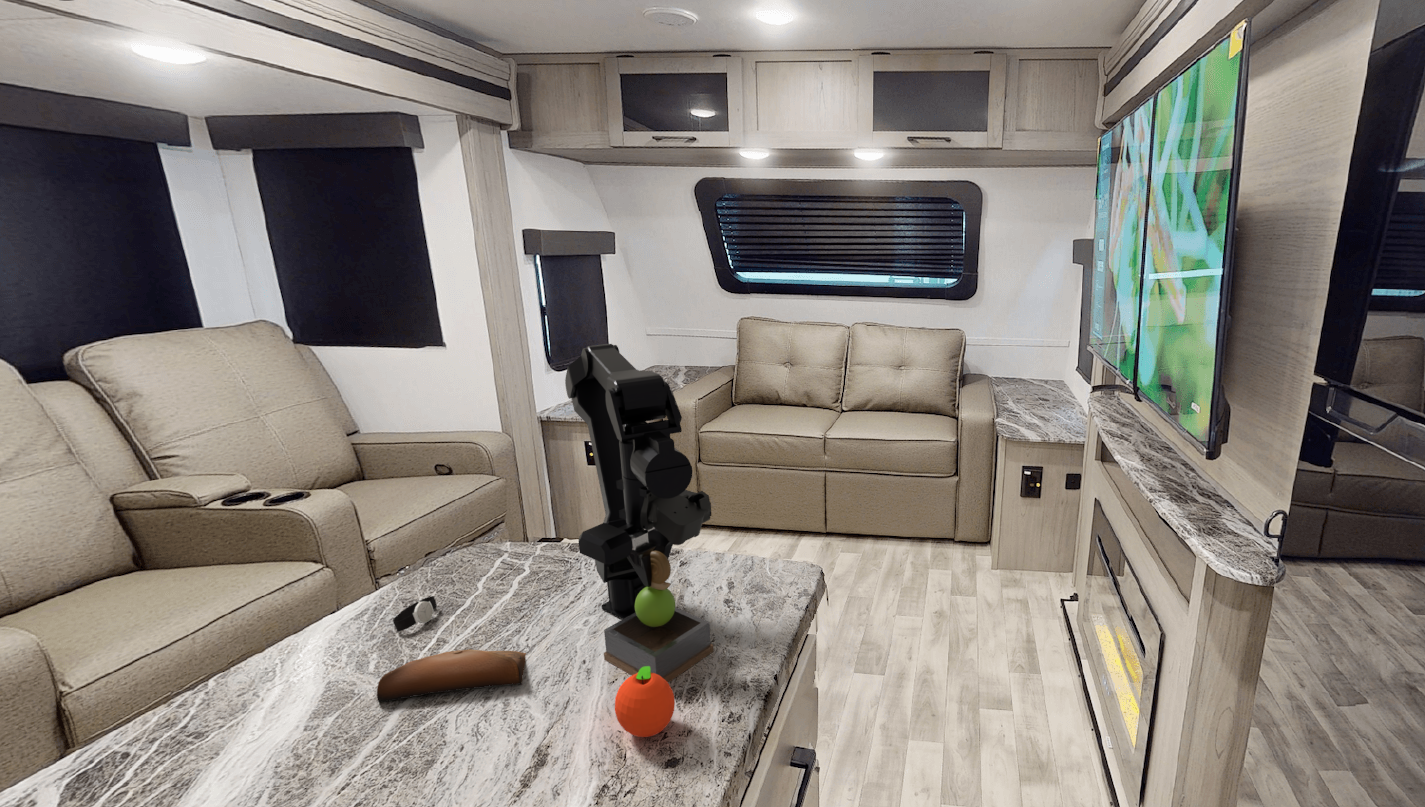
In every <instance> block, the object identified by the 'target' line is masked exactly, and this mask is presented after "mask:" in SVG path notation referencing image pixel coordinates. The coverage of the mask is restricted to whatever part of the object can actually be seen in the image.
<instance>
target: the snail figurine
mask: <svg viewBox="0 0 1425 807" xmlns="http://www.w3.org/2000/svg"><path fill="white" fill-rule="evenodd" d="M650 557H651V574H652V580H651V586H650V587H645V588H644V589H642V590H641V591H640V592H639V594H638V595H637V597H636V600H635V612H636V615H637V617H638V618H639V620H640V621H641V622H642V623H644V624H645V625H648V626H651V627H658V626H662V625H664V624H666V623H667V622H668V621H669V620H670V619H671V618H672V616H673V614H674V612H675V607H676V599H675V596H674V595H673V593H672V592H671V591H670V589H669V588H670V586H671V583H670V582H668V581H667V580H668V579H669V578H670V576H671V572H672V568H671V563H670V560H669V558H667V557H666V556H665V555H664V554H663V553H661V552H659V551H652V552H651V554H650Z"/></svg>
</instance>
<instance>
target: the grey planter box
mask: <svg viewBox="0 0 1425 807" xmlns="http://www.w3.org/2000/svg"><path fill="white" fill-rule="evenodd" d="M603 632H604V643H605V652H603V659H604V661H606V662H608V663H610V664H611V665H613V666H615V667H617V668H619V669H620V670H622V671H623V672H626V673H627V674H629V675H630V676H632V675H634V674H636V673H638V672H639V670H640V669H641V668H642V667H644V666H650V669H651V670H650V672H651V673H655V674H658V675H660V676H661V677H662V678H664V679H665V680H666V681H667V682H668V684H670V682H672V681H673V680H674V679H675V678H677V677H679V676H680V675H682V674H683V673H684V672H685V673H686V671H687V670H689V669H690V668H692V667H693V666H694V665H696V664H697V663H699V662H701V661H702V660H704V659H705V658H706V657H708V656H709V655H711V654H712V653H714V651H715V650H714V649H715V648H714V644H712V642H711V627H710V621H707V620H705V619H703V618H700V617H698V616H696V615H693V614H692V613H691V612H687V611H685V610H683V609H680V608H679V607H677V606H675V612H674V614H673V616H672V618H671V619H670V620H669V621H668V622H667V623H666V624H664V625H662V626H658V627H651V626H648V625H645V624H644V623H642V622H641V621H640V620H639V618H638V617H637V615H636V612H635V613H633V614H631V615H630V616H628V617H626V618H624V619H621V620H618V621H616V622H615V623H614V624H611V625H610V626H608V627H606V628H605V629H603Z"/></svg>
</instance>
